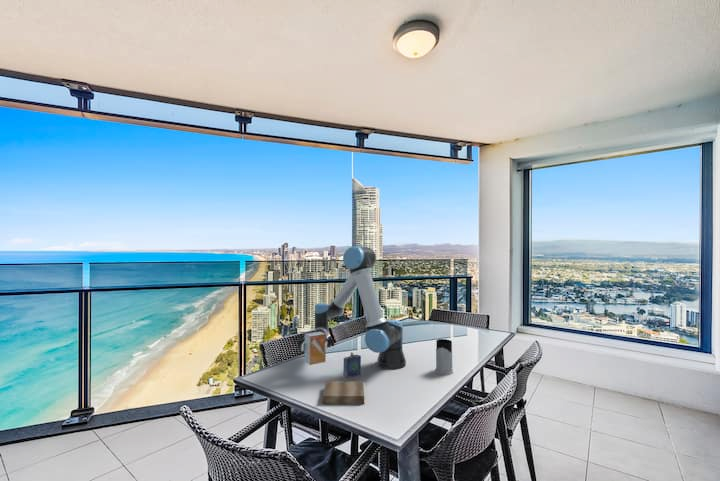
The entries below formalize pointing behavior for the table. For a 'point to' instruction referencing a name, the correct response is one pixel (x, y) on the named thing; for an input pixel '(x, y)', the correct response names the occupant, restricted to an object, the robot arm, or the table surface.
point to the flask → (352, 366)
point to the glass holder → (444, 357)
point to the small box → (315, 348)
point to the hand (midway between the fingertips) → (313, 348)
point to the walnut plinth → (343, 393)
